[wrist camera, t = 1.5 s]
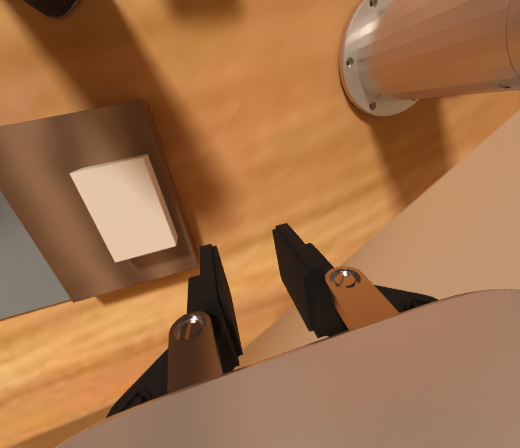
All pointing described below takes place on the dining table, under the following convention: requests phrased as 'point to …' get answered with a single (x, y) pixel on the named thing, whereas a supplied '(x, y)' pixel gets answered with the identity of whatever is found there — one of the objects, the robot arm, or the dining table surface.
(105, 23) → the dining table surface
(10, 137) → the plate
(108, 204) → the tile
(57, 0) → the electronic device
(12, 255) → the mat
